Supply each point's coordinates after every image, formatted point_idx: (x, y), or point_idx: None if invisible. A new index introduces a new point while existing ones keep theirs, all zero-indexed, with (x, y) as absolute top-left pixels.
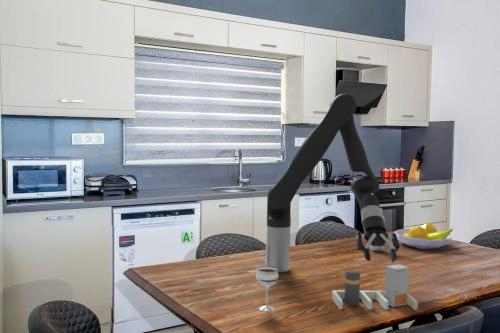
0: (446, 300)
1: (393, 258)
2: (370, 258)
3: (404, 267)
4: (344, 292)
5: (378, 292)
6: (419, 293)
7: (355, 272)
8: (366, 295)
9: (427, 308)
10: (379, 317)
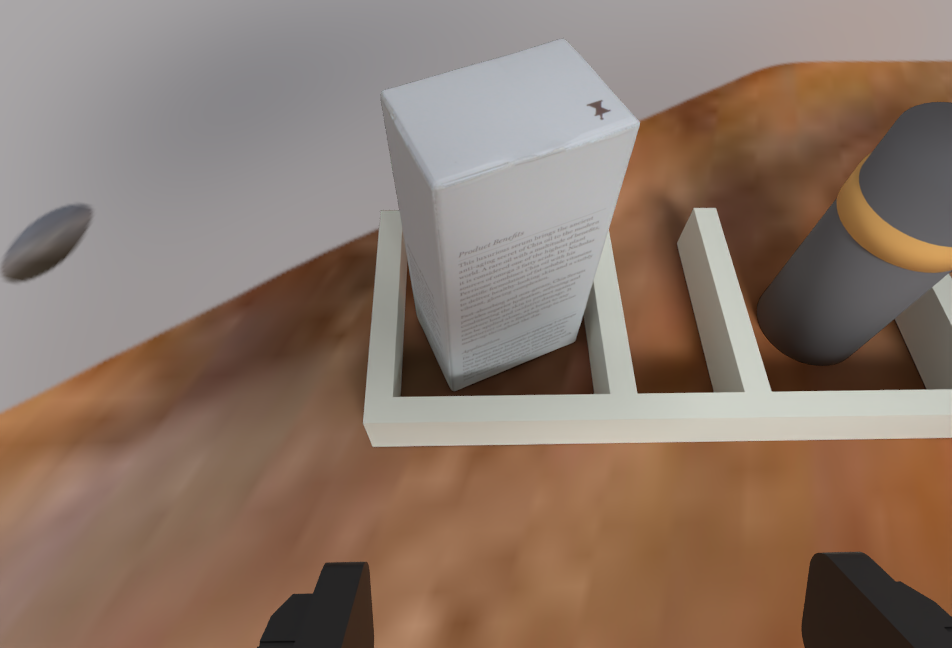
0: (48, 412)
1: (365, 569)
2: (818, 555)
3: (436, 82)
4: (903, 393)
5: (617, 372)
6: (157, 590)
7: (944, 154)
8: (725, 307)
9: (307, 266)
10: (649, 153)
